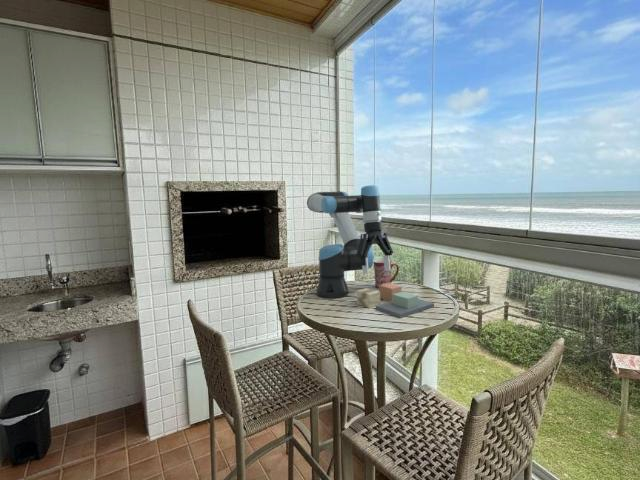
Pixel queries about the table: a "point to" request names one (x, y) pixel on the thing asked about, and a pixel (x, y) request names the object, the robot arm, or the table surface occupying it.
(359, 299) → the maple brick
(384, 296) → the terracotta brick
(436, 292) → the table surface
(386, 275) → the mug
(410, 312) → the baseplate
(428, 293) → the table surface
